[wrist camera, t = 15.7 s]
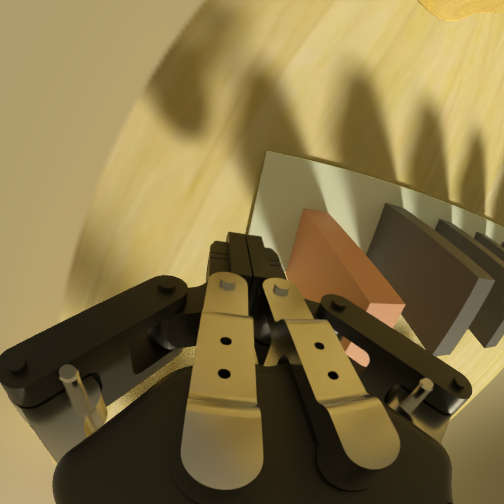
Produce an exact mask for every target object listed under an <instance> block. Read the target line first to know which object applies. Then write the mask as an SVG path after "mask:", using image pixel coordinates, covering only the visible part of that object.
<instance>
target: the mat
mask: <svg viewBox="0 0 504 504" xmlns="http://www.w3.org/2000/svg"><path fill="white" fill-rule="evenodd" d="M385 203H388V204H392V205H395V206H399V207H402V208H404V209H406V210H407V211H409V212H410V213H412V214H413V215H414V216H416V217H417V218H419V219H420V220H421V221H423V222H424V223H426V224H427V225H428V226H430V227H431V228H432V229H434V230H435V228H436V226H437V223H438V221H439V219H441V220H444V221H447V222H451V223H453V224H454V225H456V226H457V227H458V228H460V229H461V230H463V231H464V232H465V233H467V234H468V235H470V236H471V237H472V238H474V237H475V234H476V232H479V233H482V234H485V235H486V236H488V237H489V238H491V239H492V240H493V241H495V242H496V243H497V244H499V245H500V246H501V245H502V242H504V227H503V226H501V225H499V224H497V223H494V222H492V221H490V220H488V219H486V218H483V217H481V216H479V215H477V214H474V213H472V212H469V211H467V210H465V209H462V208H460V207H457V206H455V205H452V204H450V203H447V202H445V201H442V200H439V199H437V198H434V197H431V196H429V195H426V194H423V193H420V192H418V191H415V190H412V189H409V188H406V187H403V186H400V185H397V184H394V183H391V182H388V181H385V180H381V179H378V178H375V177H372V176H368V175H365V174H361V173H358V172H354V171H351V170H347V169H344V168H340V167H336V166H332V165H328V164H325V163H321V162H317V161H312V160H308V159H304V158H300V157H295V156H291V155H286V154H282V153H277V152H272V151H266V155H265V159H264V164H263V168H262V173H261V177H260V182H259V186H258V191H257V196H256V200H255V205H254V209H253V214H252V218H251V223H250V227H249V232H248V235H255V236H261V237H262V240H263V243H264V247H266V248H271V249H273V250H274V251H275V252H276V253H277V254H278V257H279V259H280V262H281V265H282V268H283V270H284V271H287V267H288V264H289V260H290V257H291V253H292V249H293V246H294V242H295V238H296V234H297V230H298V227H299V223H300V219H301V215H302V211H303V208H304V209H310V210H316V211H322V212H328V213H329V214H330V215H331V216H332V217H333V218H334V220H335V221H336V222H337V223H338V224H339V225H340V226H341V227H342V228H343V230H344V231H345V232H346V233H347V234H348V235H349V236H350V237H351V239H352V240H353V241H354V242H355V243H356V244H357V245H358V247H359V248H360V249H361V250H362V251H363V252H364V254H365V255H366V254H367V251H368V249H369V246H370V244H371V241H372V238H373V236H374V233H375V230H376V228H377V225H378V222H379V219H380V216H381V214H382V211H383V208H384V205H385Z"/></svg>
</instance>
